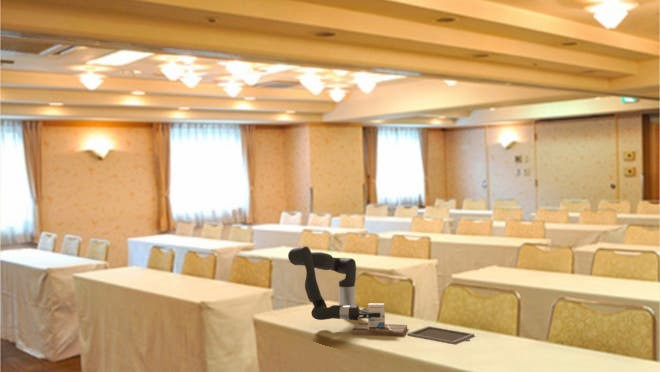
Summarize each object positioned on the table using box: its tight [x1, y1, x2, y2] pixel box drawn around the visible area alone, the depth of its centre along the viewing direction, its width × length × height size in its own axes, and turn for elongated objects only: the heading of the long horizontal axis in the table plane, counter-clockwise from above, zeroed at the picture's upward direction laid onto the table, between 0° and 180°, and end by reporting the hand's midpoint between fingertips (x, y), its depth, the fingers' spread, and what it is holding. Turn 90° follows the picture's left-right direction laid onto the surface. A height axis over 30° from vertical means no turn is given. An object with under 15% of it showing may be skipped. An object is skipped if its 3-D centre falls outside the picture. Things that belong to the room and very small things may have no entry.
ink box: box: [367, 302, 386, 327], centre depth 342 cm, size 9×5×12 cm, turn 84°
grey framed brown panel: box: [406, 326, 475, 345], centre depth 330 cm, size 19×2×30 cm
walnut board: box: [351, 322, 408, 337], centre depth 342 cm, size 16×26×2 cm, turn 75°
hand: (381, 314), depth 341 cm, fingers closed on ink box, 5 cm apart
